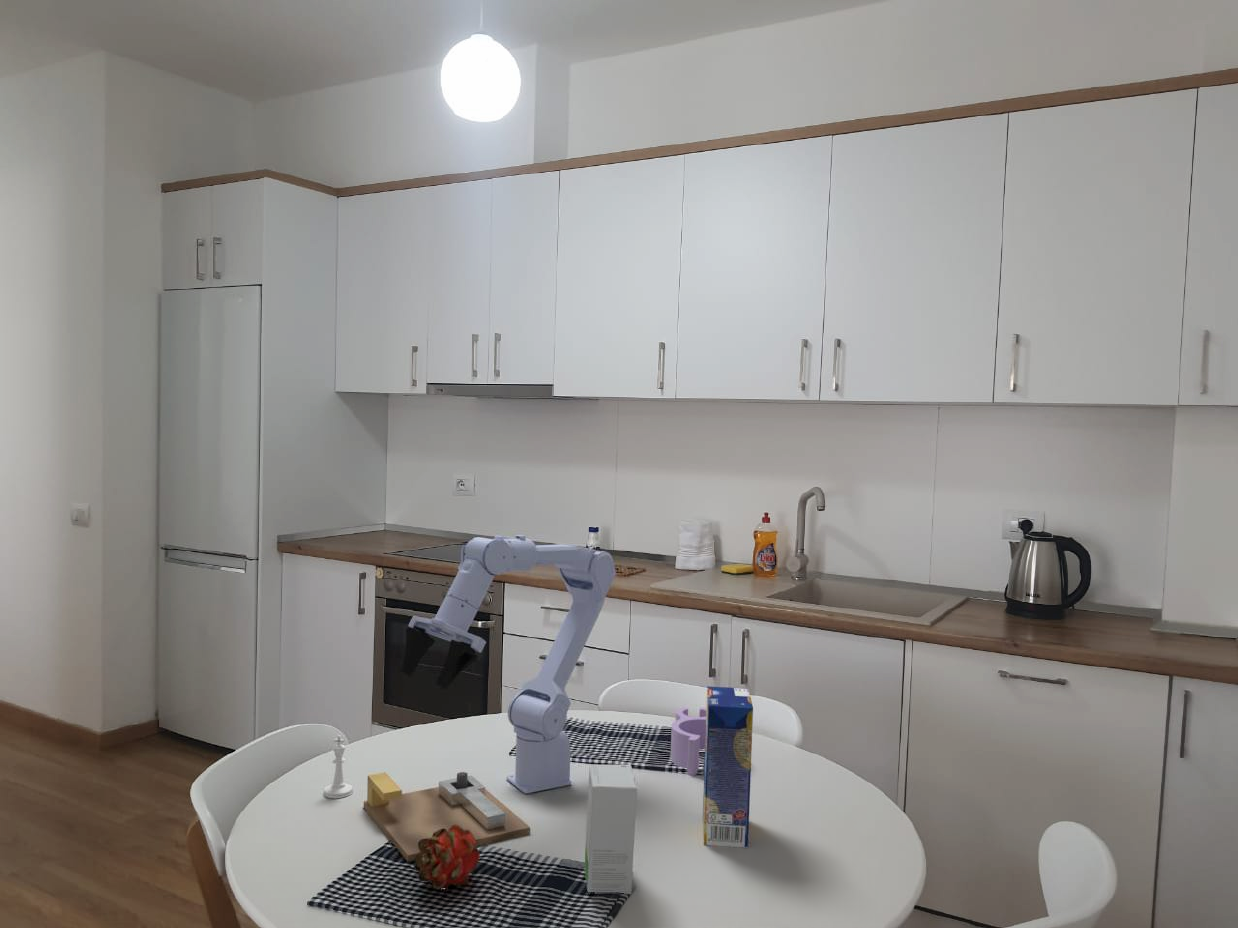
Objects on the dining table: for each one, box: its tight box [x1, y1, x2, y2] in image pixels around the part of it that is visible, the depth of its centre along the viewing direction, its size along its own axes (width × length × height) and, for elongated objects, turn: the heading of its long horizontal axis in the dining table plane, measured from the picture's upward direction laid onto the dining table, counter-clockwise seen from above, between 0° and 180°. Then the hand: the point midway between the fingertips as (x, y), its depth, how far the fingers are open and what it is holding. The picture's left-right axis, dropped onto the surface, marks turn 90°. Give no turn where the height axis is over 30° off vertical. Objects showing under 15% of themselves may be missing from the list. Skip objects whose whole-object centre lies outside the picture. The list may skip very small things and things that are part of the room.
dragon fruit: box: [413, 825, 480, 890], centre depth 130 cm, size 8×8×12 cm
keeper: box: [366, 772, 403, 807], centre depth 151 cm, size 3×8×4 cm, turn 32°
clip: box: [670, 706, 707, 777], centre depth 183 cm, size 20×12×7 cm, turn 5°
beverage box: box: [702, 685, 754, 849], centre depth 149 cm, size 7×11×22 cm, turn 176°
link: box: [438, 775, 505, 830], centre depth 152 cm, size 17×6×2 cm, turn 32°
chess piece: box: [323, 734, 354, 799], centre depth 160 cm, size 5×5×10 cm
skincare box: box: [584, 764, 638, 895], centre depth 131 cm, size 8×7×16 cm
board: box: [363, 771, 531, 863], centre depth 150 cm, size 20×22×5 cm
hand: (422, 680), depth 146 cm, fingers open, 7 cm apart
